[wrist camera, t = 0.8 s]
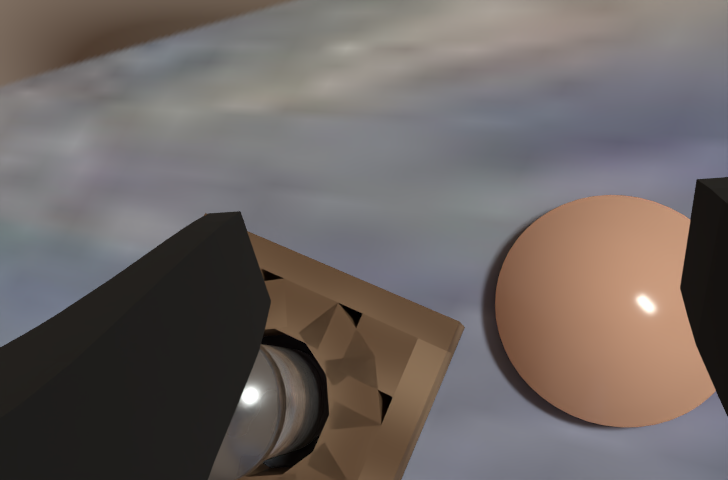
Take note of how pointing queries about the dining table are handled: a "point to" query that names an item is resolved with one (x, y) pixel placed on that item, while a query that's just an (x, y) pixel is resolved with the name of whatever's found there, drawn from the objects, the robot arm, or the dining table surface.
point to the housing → (357, 364)
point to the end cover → (274, 412)
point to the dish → (603, 312)
